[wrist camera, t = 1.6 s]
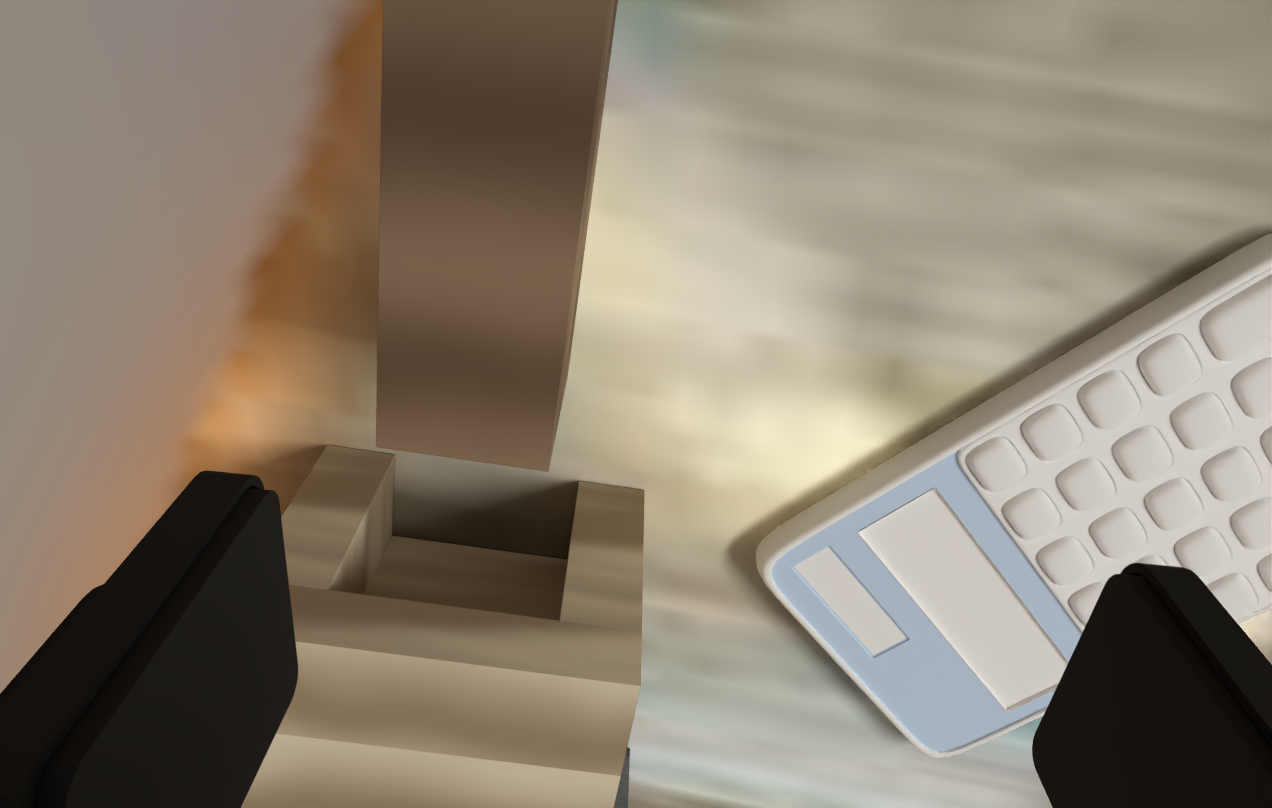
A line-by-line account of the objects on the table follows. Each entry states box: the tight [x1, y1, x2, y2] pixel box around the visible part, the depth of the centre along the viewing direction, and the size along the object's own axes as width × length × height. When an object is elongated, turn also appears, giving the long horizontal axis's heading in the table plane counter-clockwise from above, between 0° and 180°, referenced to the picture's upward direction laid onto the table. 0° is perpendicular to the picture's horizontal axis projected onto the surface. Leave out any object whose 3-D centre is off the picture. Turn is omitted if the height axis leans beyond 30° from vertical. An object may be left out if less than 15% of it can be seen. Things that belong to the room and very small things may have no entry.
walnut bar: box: [376, 0, 618, 472], centre depth 22 cm, size 18×5×6 cm, turn 171°
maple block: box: [241, 445, 644, 808], centre depth 28 cm, size 8×11×9 cm
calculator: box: [756, 233, 1272, 758], centre depth 31 cm, size 13×20×2 cm, turn 129°
